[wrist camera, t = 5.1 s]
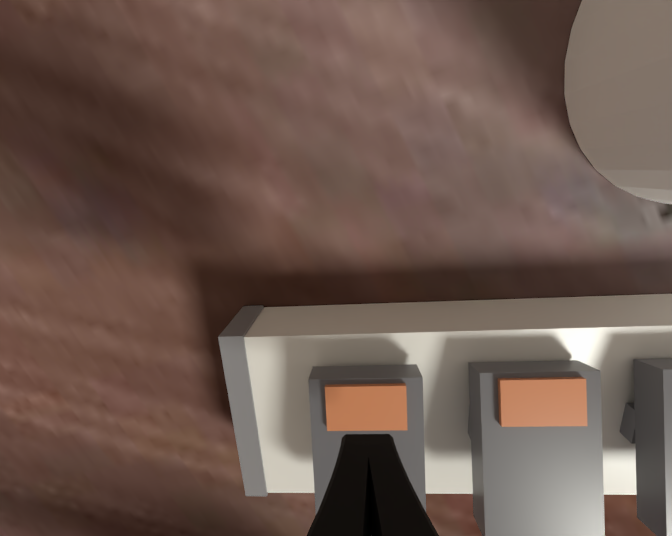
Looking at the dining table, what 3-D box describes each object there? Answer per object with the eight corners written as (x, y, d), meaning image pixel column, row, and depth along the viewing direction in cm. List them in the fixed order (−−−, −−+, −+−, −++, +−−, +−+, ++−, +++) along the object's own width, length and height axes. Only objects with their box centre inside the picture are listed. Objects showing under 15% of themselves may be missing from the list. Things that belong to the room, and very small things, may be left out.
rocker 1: (420, 510, 13) (427, 542, 12) (320, 509, 13) (316, 540, 12) (416, 364, 13) (424, 379, 11) (312, 366, 13) (307, 382, 12)
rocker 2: (581, 516, 13) (609, 549, 11) (473, 515, 13) (487, 546, 11) (577, 360, 12) (605, 372, 11) (468, 362, 13) (481, 374, 11)
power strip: (844, 440, 16) (976, 512, 13) (263, 443, 18) (242, 506, 15) (915, 283, 14) (1099, 319, 11) (243, 305, 16) (212, 342, 13)
